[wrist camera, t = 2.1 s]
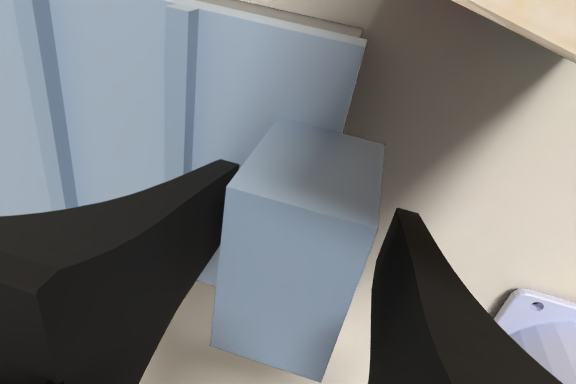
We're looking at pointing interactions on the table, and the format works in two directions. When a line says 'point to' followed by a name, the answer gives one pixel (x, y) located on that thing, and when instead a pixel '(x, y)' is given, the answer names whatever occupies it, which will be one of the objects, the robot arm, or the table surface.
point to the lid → (203, 148)
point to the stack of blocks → (534, 21)
